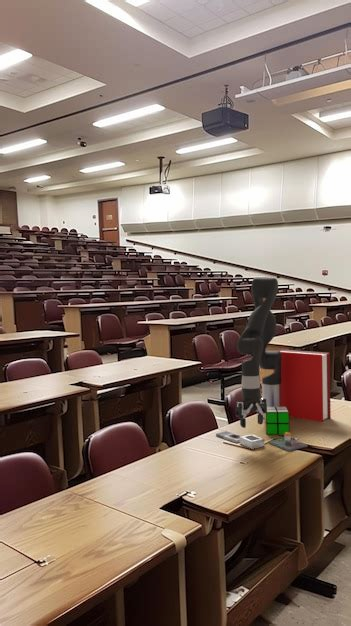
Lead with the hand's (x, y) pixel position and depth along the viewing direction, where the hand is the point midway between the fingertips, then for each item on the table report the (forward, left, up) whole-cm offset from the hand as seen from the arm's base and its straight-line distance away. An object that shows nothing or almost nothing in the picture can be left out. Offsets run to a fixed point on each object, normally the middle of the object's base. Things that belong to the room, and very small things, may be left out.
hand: (251, 425), depth 196 cm
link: (0, 0, -8) cm, 8 cm away
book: (-22, +48, -8) cm, 54 cm away
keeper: (+8, +12, -8) cm, 16 cm away
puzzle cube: (-9, +21, -9) cm, 25 cm away
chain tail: (-13, -1, -8) cm, 15 cm away
